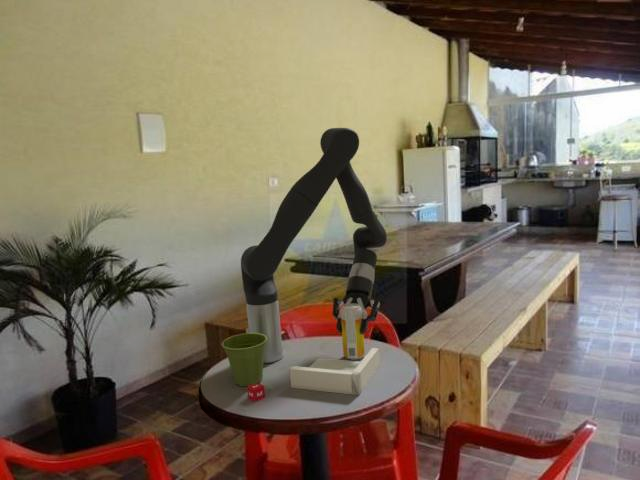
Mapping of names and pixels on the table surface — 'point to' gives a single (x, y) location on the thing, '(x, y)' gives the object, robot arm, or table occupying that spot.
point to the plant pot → (246, 357)
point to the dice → (256, 392)
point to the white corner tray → (336, 374)
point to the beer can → (352, 331)
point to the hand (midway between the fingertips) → (350, 332)
